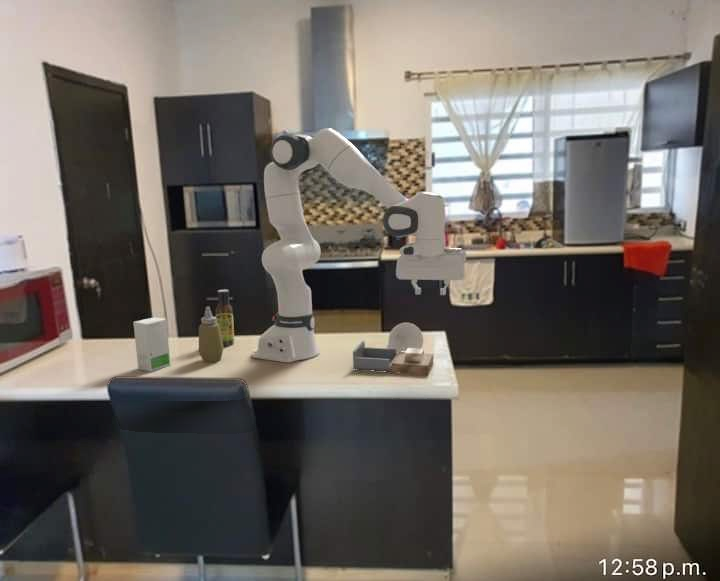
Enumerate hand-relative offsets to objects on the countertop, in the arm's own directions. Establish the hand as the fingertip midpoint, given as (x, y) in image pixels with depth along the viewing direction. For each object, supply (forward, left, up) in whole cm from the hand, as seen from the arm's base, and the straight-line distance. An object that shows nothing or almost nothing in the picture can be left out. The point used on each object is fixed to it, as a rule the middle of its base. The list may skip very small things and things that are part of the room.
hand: (430, 294), depth 167 cm
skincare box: (-87, -14, -24) cm, 91 cm away
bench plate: (-6, 0, -23) cm, 24 cm away
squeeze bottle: (-72, -4, -24) cm, 76 cm away
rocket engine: (-11, +18, -24) cm, 32 cm away
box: (-17, 0, -23) cm, 29 cm away
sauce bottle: (-76, +13, -24) cm, 80 cm away
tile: (-5, 0, -20) cm, 21 cm away
